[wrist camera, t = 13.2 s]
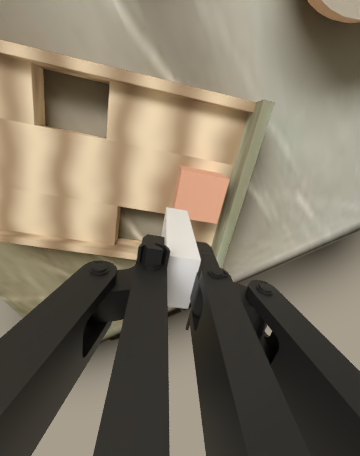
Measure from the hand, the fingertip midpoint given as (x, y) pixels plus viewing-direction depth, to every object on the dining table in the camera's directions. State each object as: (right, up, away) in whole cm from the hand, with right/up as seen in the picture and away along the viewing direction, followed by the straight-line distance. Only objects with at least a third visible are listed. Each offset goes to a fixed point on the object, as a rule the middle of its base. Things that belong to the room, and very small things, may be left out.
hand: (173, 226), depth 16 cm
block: (+3, +5, +13) cm, 14 cm away
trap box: (-8, +8, +14) cm, 18 cm away
